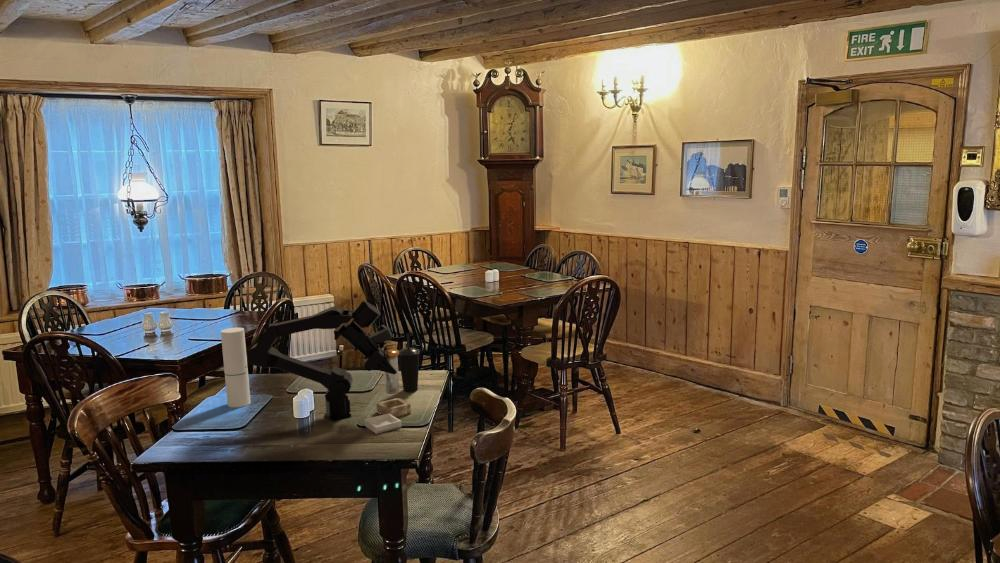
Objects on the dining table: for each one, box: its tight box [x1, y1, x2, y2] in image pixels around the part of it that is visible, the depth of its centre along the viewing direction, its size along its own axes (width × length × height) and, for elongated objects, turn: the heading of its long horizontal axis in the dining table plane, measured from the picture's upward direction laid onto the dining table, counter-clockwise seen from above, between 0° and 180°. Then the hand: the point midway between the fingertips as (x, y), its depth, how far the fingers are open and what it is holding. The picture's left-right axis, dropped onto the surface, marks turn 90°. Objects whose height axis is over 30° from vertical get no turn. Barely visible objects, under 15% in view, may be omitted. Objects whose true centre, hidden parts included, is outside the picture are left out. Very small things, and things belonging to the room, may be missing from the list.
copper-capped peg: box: [383, 348, 400, 395], centre depth 220 cm, size 5×5×13 cm
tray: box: [363, 413, 403, 435], centre depth 211 cm, size 8×8×2 cm
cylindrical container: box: [220, 327, 252, 408], centre depth 232 cm, size 7×7×25 cm
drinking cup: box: [398, 332, 421, 393], centre depth 243 cm, size 8×8×20 cm
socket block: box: [376, 397, 412, 418], centre depth 222 cm, size 8×8×3 cm
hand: (396, 371), depth 220 cm, fingers closed on copper-capped peg, 4 cm apart
